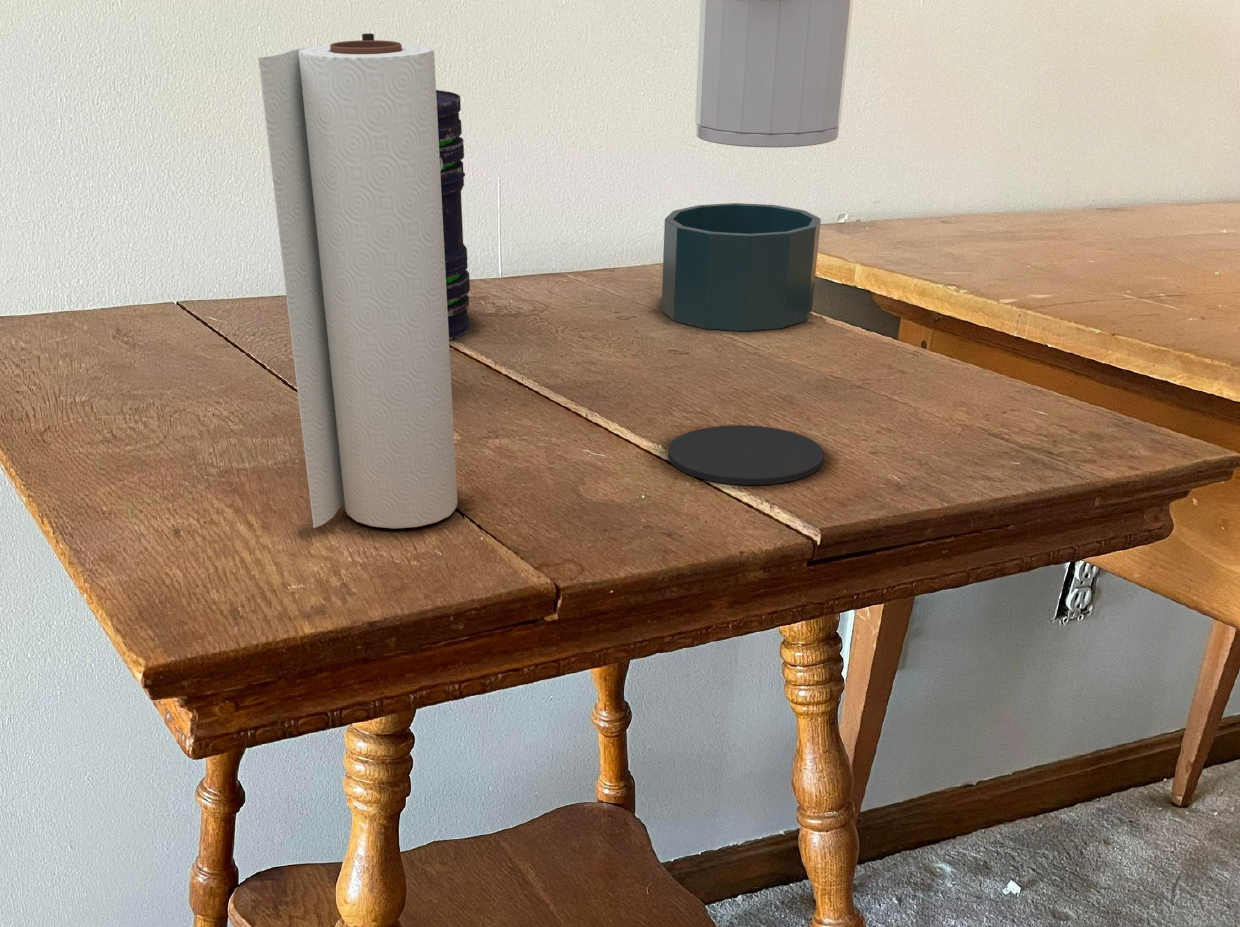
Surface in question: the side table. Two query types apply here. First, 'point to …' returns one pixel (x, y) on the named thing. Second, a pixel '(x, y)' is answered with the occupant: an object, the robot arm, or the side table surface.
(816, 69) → the silver cup
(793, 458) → the coaster
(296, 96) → the paper towel roll
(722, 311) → the pail
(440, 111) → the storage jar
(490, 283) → the side table surface
